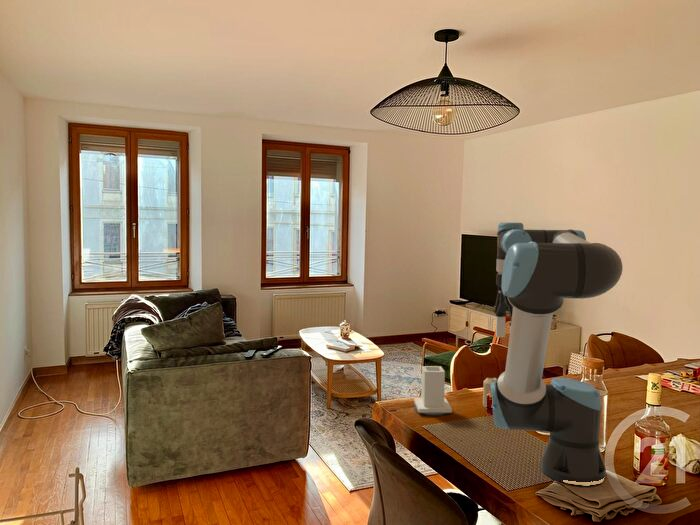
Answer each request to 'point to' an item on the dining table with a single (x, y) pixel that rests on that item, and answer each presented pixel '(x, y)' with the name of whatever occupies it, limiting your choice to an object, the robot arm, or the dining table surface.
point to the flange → (432, 391)
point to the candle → (487, 388)
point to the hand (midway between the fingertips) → (507, 342)
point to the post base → (430, 413)
